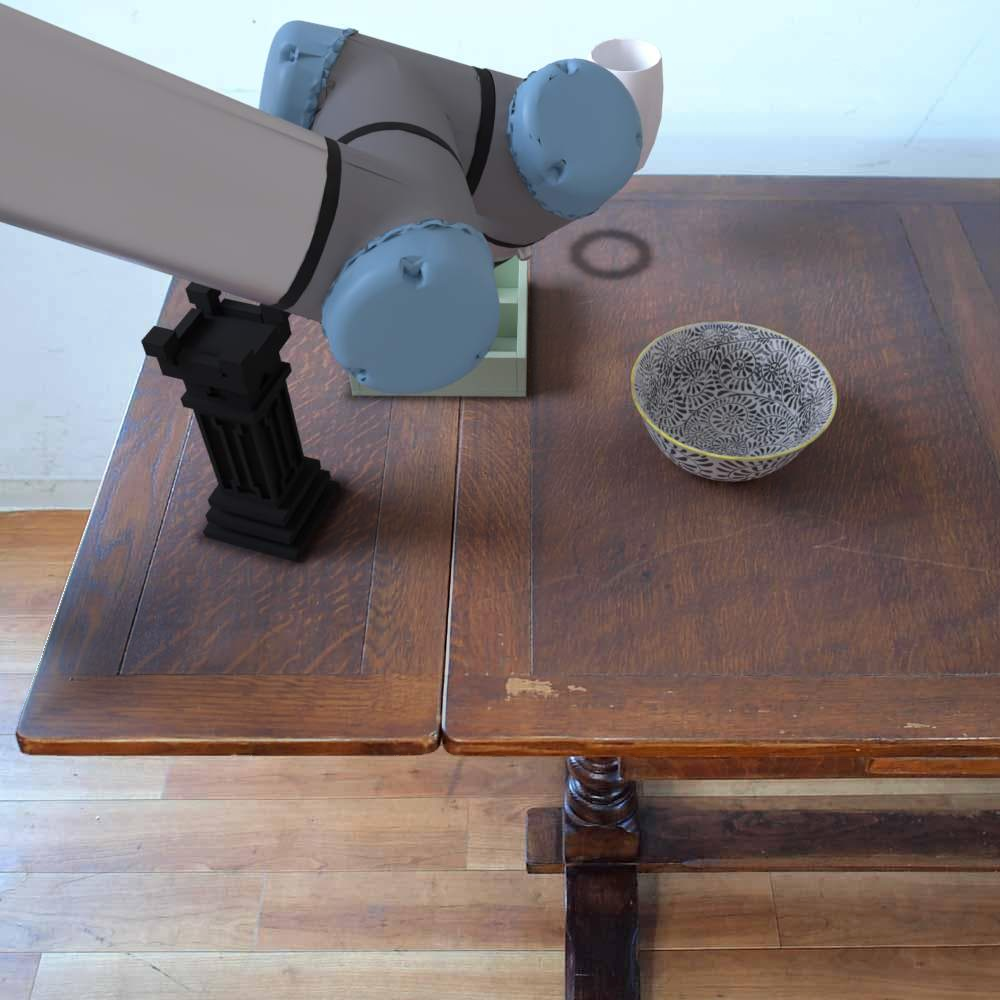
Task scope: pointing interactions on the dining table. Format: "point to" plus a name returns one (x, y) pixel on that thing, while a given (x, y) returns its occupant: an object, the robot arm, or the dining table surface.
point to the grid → (507, 354)
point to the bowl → (731, 398)
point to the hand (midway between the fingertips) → (389, 277)
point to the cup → (636, 81)
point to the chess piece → (245, 422)
